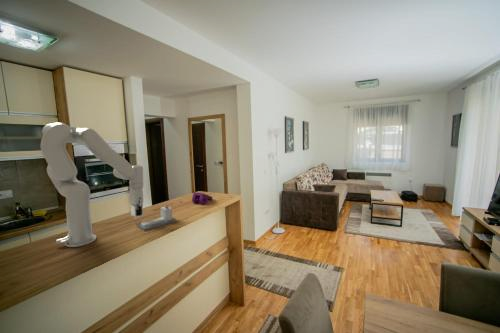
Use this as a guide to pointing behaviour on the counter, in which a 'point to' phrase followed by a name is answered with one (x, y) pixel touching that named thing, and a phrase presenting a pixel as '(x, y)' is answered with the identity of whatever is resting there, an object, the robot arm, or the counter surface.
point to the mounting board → (158, 220)
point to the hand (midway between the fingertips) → (136, 213)
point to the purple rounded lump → (200, 198)
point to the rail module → (133, 211)
